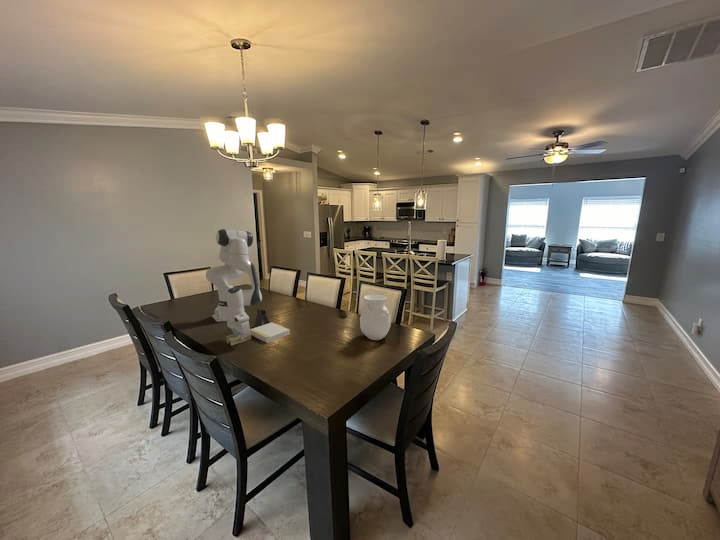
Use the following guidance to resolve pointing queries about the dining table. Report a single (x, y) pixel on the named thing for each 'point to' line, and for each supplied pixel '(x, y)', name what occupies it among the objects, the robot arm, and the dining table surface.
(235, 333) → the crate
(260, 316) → the phone stand
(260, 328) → the dock
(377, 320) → the white vase
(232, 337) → the pallet
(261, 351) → the dining table surface
